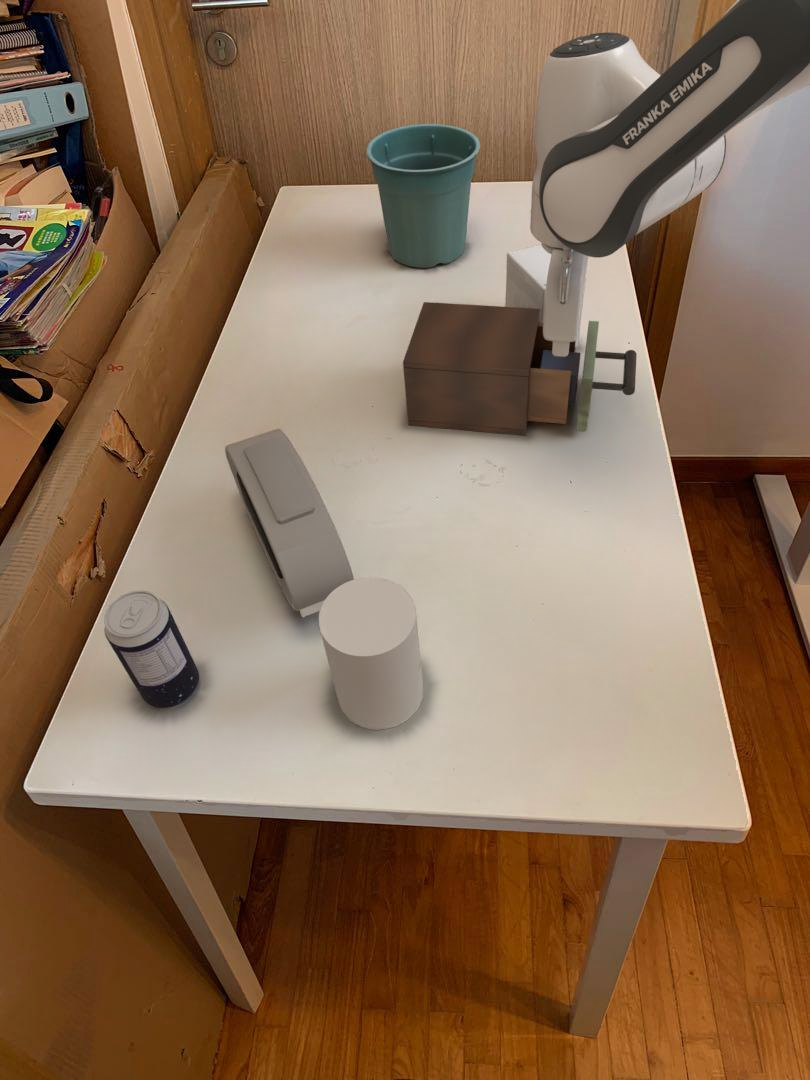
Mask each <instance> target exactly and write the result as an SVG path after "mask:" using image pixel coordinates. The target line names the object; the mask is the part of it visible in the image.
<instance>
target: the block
mask: <svg viewBox="0 0 810 1080" xmlns="http://www.w3.org/2000/svg"><path fill="white" fill-rule="evenodd" d="M581 354H582V353H581V352H577V351H575V352H569V353H568V355H567V356H565V357H561V356H554V355H553V354H552V351H549V350H543V354H542V360H541V366H540V369H551V370H565V371H571V380H570V390H569V400H568V406H569V405H570V406H575V405H576V397H577V389H578V380H579V372H580V371H579V370H580V364H581V363H580V362H581Z"/></svg>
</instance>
